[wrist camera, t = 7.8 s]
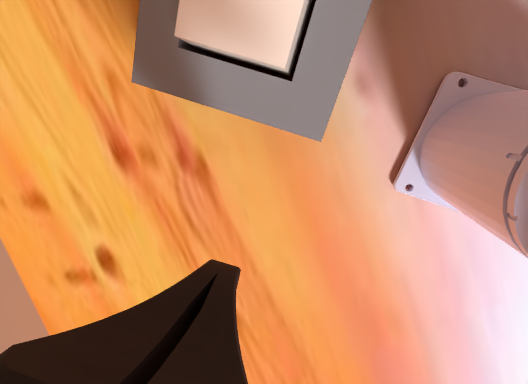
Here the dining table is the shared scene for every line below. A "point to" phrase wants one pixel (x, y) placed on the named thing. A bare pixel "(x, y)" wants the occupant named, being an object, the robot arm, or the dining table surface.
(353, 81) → the dining table surface
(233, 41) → the cream key
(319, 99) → the key panel
